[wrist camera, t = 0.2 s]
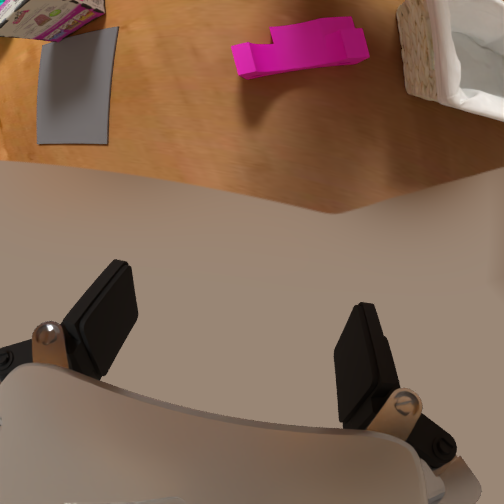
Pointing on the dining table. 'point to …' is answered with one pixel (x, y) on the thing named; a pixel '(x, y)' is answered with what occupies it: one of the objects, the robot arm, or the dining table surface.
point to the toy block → (303, 48)
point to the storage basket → (455, 53)
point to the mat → (76, 88)
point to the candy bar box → (47, 18)
